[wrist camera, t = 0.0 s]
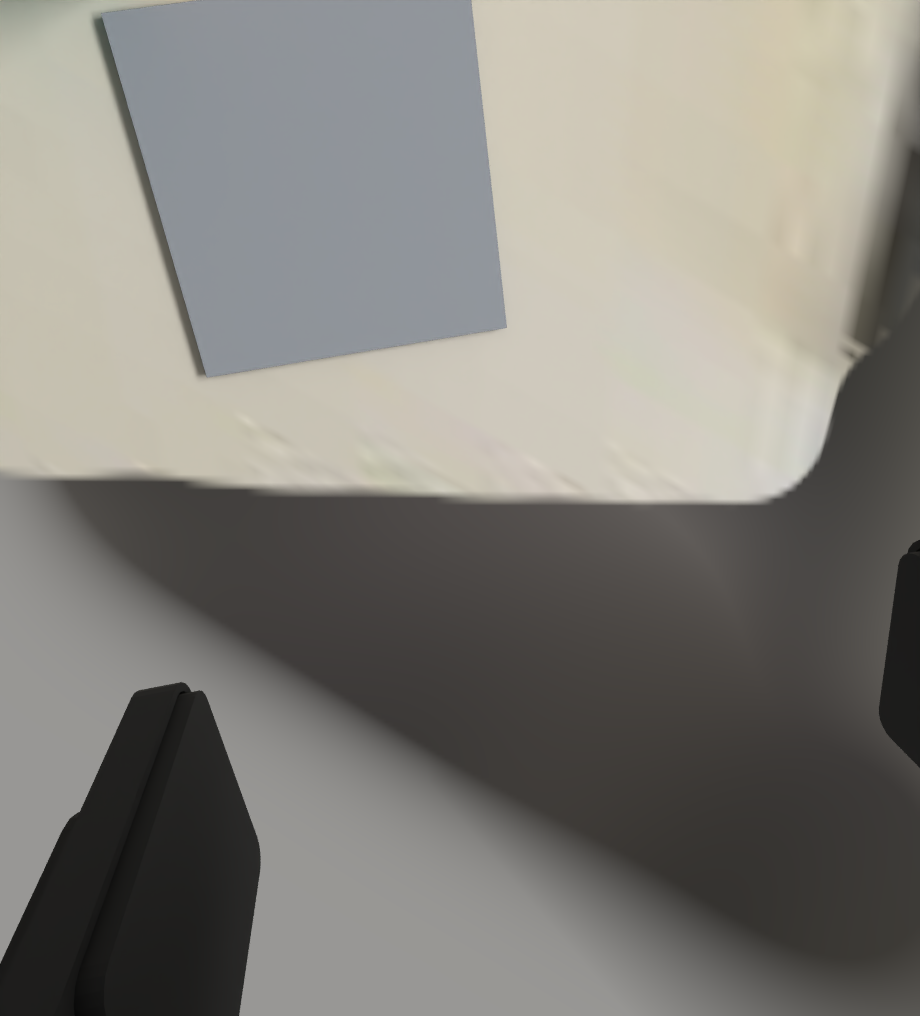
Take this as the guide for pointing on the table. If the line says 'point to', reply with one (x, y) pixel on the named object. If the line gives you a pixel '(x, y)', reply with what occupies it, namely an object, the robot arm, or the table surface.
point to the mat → (316, 172)
